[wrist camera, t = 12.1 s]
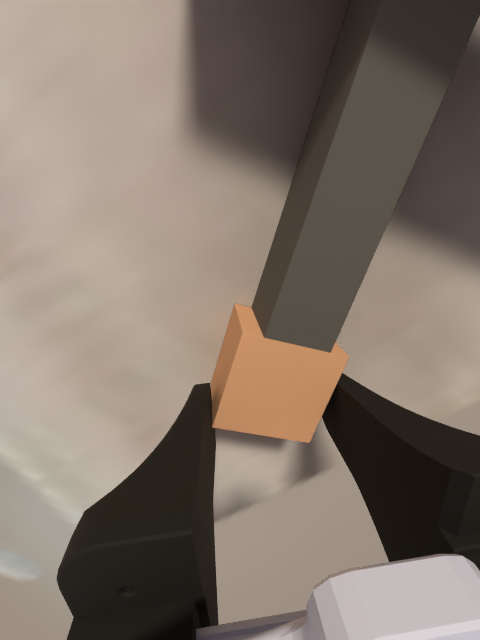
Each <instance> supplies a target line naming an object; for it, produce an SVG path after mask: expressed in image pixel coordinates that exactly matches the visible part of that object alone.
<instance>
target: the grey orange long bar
mask: <svg viewBox="0 0 480 640" xmlns="http://www.w3.org/2000/svg"><path fill="white" fill-rule="evenodd" d="M479 15H480V0H350V3H349V6H348V10H347V13H346V16H345V19H344V22H343V25H342V28H341V31H340V34H339V38H338V41H337V44H336V47H335V50H334V53H333V56H332V59H331V62H330V65H329V69H328V72H327V75H326V78H325V81H324V84H323V87H322V90H321V93H320V97H319V100H318V103H317V106H316V109H315V112H314V115H313V118H312V121H311V125H310V128H309V131H308V134H307V137H306V140H305V143H304V146H303V149H302V153H301V156H300V159H299V162H298V165H297V168H296V171H295V174H294V177H293V181H292V184H291V187H290V190H289V193H288V196H287V199H286V202H285V205H284V208H283V212H282V215H281V218H280V221H279V224H278V227H277V230H276V233H275V236H274V240H273V243H272V246H271V249H270V252H269V255H268V258H267V261H266V264H265V268H264V271H263V274H262V277H261V280H260V283H259V286H258V289H257V292H256V296H255V299H254V302H253V305H252V308H250V307H246V306H242V305H238V304H235V305H234V308H233V311H232V315H231V318H230V321H229V325H228V328H227V331H226V335H225V338H224V341H223V345H222V348H221V351H220V355H219V358H218V361H217V365H216V368H215V371H214V375H213V378H212V381H211V395H212V428H219V429H225V430H231V431H238V432H244V433H250V434H256V435H263V436H269V437H275V438H282V439H288V440H294V441H300V442H307V443H309V442H310V440H311V438H312V436H313V434H314V432H315V430H316V427H317V425H318V423H319V421H320V419H321V417H322V415H323V413H324V410H325V408H326V406H327V404H328V402H329V400H330V398H331V395H332V393H333V391H334V389H335V387H336V385H337V383H338V380H339V378H340V376H341V374H342V372H343V370H344V368H345V365H346V363H347V361H348V359H349V356H348V355H347V354H346V353H345V352H344V351H343V350H342V348H341V347H340V346H339V345H338V344H337V343H336V340H337V337H338V335H339V333H340V330H341V328H342V326H343V324H344V321H345V319H346V317H347V315H348V312H349V310H350V308H351V306H352V303H353V301H354V299H355V296H356V294H357V292H358V290H359V287H360V285H361V283H362V281H363V278H364V276H365V274H366V272H367V269H368V267H369V265H370V262H371V260H372V258H373V256H374V253H375V251H376V249H377V247H378V244H379V242H380V240H381V238H382V235H383V233H384V231H385V228H386V226H387V224H388V222H389V219H390V217H391V215H392V213H393V210H394V208H395V206H396V204H397V201H398V199H399V197H400V195H401V192H402V190H403V188H404V185H405V183H406V181H407V179H408V176H409V174H410V172H411V170H412V167H413V165H414V163H415V161H416V158H417V156H418V154H419V151H420V149H421V147H422V145H423V142H424V140H425V138H426V136H427V133H428V131H429V129H430V127H431V124H432V122H433V120H434V117H435V115H436V113H437V111H438V108H439V106H440V104H441V102H442V99H443V97H444V95H445V93H446V90H447V88H448V86H449V83H450V81H451V79H452V77H453V74H454V72H455V70H456V68H457V65H458V63H459V61H460V59H461V56H462V54H463V52H464V49H465V47H466V45H467V43H468V40H469V38H470V36H471V34H472V31H473V29H474V27H475V25H476V22H477V20H478V18H479Z"/></svg>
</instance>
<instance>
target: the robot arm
mask: <svg viewBox="0 0 480 640" xmlns="http://www.w3.org/2000/svg"><path fill="white" fill-rule="evenodd" d="M322 418H323V421H324V423H325V426H326V428H327V430H328V432H329V434H330V436H331V438H332V439H333V441H334V443H335V445H336V447H337V448H338V450H339V452H340V454H341V456H342V457H343V459H344V461H345V463H346V464H347V466H348V468H349V470H350V471H351V473H352V475H353V477H354V479H355V481H356V483H357V485H358V487H359V489H360V492H361V494H362V496H363V499H364V500H365V503H366V506H367V508H368V510H369V513H370V515H371V517H372V520H373V522H374V525H375V527H376V529H377V532H378V534H379V537H380V539H381V542H382V544H383V547H384V550H385V552H386V555H387V557H388V560H389V562H387V563H381V564H375V565H370V566H363V567H357V568H352V569H347V570H344V571H341V572H338V573H335V574H332V575H329V576H328V577H327V578H325V579H324V580H323V581H321V582H320V583H319V584H317V585H316V586H315V587H314V589H313V592H312V594H311V596H310V598H309V600H308V603H307V610H302V611H297V612H291V613H285V614H279V615H274V616H268V617H262V618H256V619H251V620H245V621H239V622H233V623H228V624H222V625H218V607H217V587H216V566H215V542H214V517H213V490H214V471H215V451H216V437H215V428H212V397H211V388H210V383H205V384H196V385H195V386H194V387H193V389H192V391H191V394H190V396H189V398H188V400H187V402H186V404H185V406H184V407H183V409H182V411H181V413H180V414H179V416H178V418H177V419H176V421H175V422H174V424H173V425H172V427H171V428H170V430H169V431H168V433H167V434H166V435H165V437H164V438H163V439H162V441H161V442H160V443H159V445H158V446H157V447H156V448H155V449H154V451H153V452H152V453H151V454H150V455H149V456H148V457H147V458H146V460H145V461H144V462H143V463H142V464H141V465H140V466H139V467H138V468H137V469H136V470H135V471H134V472H133V473H132V474H131V475H129V476H128V477H127V478H126V479H125V480H124V481H123V482H122V483H120V484H119V485H118V486H117V487H116V488H115V489H113V490H112V491H111V492H110V493H108V494H107V495H106V496H104V497H103V498H102V499H100V500H99V501H98V502H96V503H95V504H94V505H93V506H91V507H90V508H88V509H87V510H86V511H85V512H84V513H83V515H82V517H81V519H80V521H79V523H78V525H77V527H76V529H75V531H74V533H73V535H72V537H71V539H70V542H69V544H68V547H67V549H66V552H65V554H64V557H63V559H62V562H61V564H60V567H59V569H58V574H57V582H58V586H59V589H60V591H61V593H62V595H63V597H64V599H65V601H66V602H67V605H68V607H69V609H70V611H71V613H72V615H73V617H74V619H73V622H72V625H71V628H70V631H69V634H68V637H67V640H480V436H479V435H475V434H472V433H468V432H465V431H462V430H459V429H456V428H453V427H450V426H447V425H444V424H442V423H439V422H436V421H433V420H431V419H428V418H426V417H423V416H421V415H419V414H416V413H414V412H412V411H409V410H407V409H405V408H403V407H401V406H399V405H397V404H395V403H393V402H391V401H389V400H387V399H385V398H383V397H381V396H380V395H378V394H376V393H374V392H373V391H371V390H369V389H367V388H366V387H364V386H362V385H361V384H359V383H358V382H356V381H354V380H353V379H351V378H349V377H348V376H346V375H345V374H343V373H342V374H341V376H340V378H339V380H338V383H337V385H336V387H335V389H334V391H333V393H332V395H331V398H330V400H329V402H328V404H327V406H326V408H325V410H324V413H323V415H322Z"/></svg>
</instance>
